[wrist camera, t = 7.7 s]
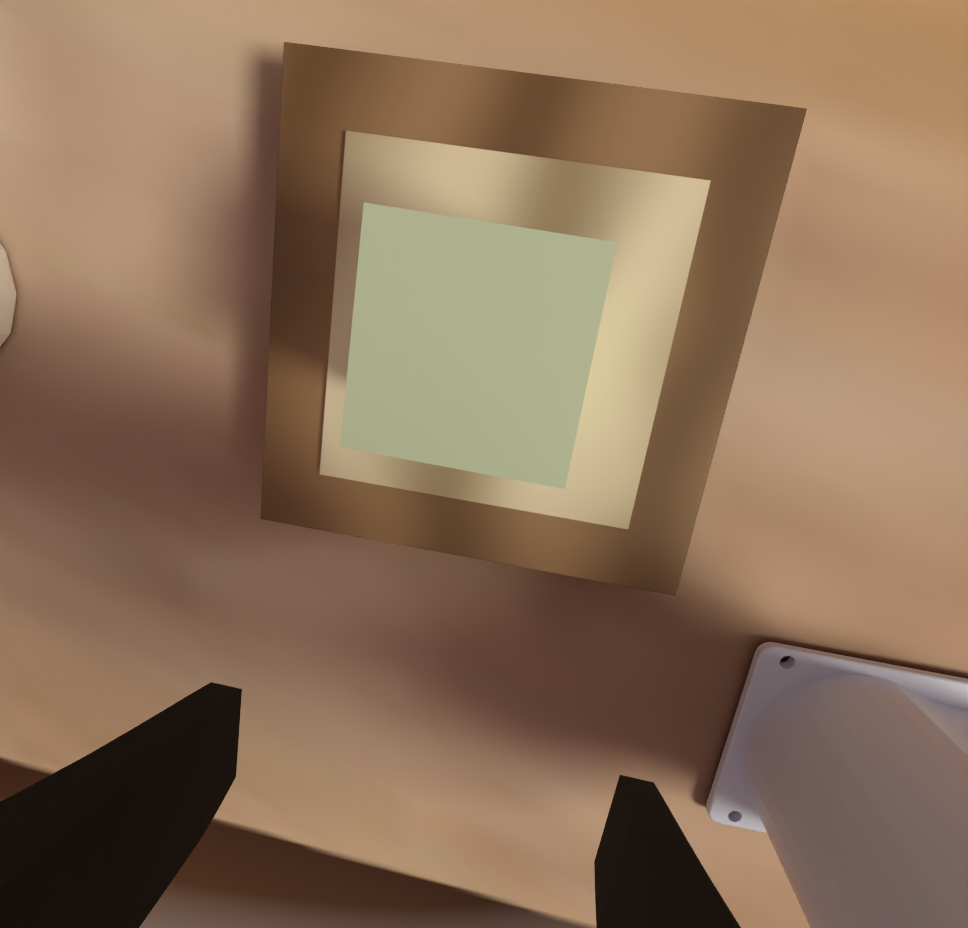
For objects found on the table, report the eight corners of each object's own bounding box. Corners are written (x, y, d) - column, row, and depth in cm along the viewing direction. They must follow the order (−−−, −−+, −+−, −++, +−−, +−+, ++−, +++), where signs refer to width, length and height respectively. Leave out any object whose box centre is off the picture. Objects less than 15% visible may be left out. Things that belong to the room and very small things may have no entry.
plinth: (770, 139, 16) (810, 104, 13) (660, 566, 19) (676, 598, 17) (316, 79, 17) (280, 37, 14) (290, 499, 20) (257, 520, 18)
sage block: (586, 278, 15) (617, 242, 9) (555, 433, 16) (565, 489, 10) (431, 253, 15) (363, 202, 9) (411, 407, 16) (339, 446, 10)
